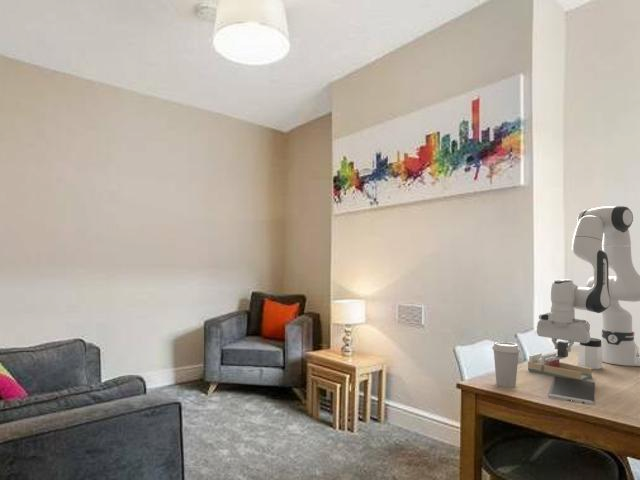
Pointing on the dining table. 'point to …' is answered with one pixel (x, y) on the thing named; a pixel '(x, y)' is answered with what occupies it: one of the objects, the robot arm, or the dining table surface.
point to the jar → (590, 354)
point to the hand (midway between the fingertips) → (562, 350)
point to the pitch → (562, 371)
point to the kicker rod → (558, 354)
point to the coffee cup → (506, 363)
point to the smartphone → (572, 390)
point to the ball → (541, 361)
